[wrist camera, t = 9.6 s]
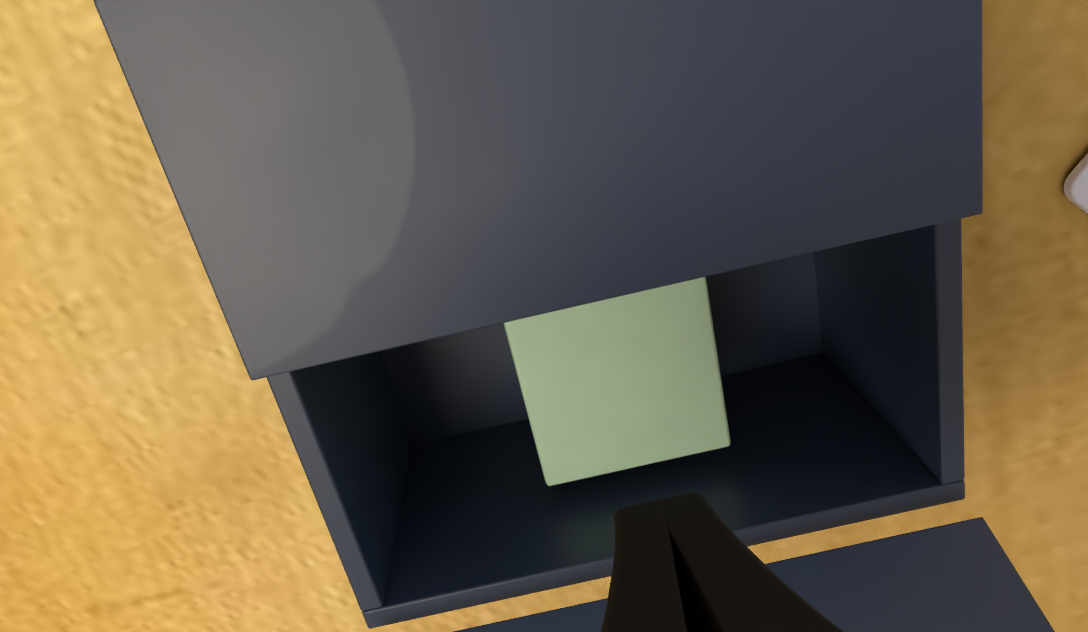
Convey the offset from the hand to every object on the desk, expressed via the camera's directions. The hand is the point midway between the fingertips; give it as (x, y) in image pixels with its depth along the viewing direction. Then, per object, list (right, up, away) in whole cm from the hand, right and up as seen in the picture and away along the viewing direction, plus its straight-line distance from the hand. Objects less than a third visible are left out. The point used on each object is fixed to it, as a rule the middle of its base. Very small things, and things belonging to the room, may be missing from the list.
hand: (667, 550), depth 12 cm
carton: (-1, +7, +8) cm, 11 cm away
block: (-1, +4, +9) cm, 10 cm away
